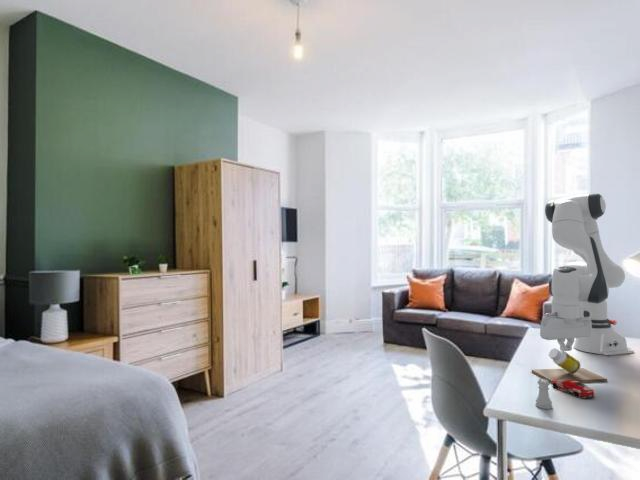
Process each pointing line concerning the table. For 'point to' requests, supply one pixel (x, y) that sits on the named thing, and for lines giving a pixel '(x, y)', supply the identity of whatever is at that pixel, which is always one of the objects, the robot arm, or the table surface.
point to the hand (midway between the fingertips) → (565, 350)
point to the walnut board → (569, 375)
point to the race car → (574, 388)
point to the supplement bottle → (565, 361)
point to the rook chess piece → (543, 395)
